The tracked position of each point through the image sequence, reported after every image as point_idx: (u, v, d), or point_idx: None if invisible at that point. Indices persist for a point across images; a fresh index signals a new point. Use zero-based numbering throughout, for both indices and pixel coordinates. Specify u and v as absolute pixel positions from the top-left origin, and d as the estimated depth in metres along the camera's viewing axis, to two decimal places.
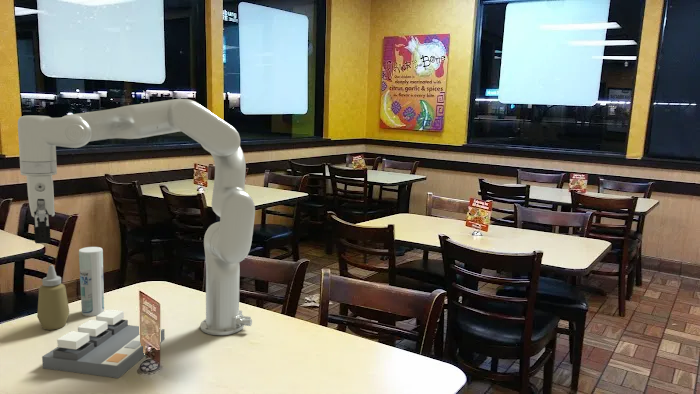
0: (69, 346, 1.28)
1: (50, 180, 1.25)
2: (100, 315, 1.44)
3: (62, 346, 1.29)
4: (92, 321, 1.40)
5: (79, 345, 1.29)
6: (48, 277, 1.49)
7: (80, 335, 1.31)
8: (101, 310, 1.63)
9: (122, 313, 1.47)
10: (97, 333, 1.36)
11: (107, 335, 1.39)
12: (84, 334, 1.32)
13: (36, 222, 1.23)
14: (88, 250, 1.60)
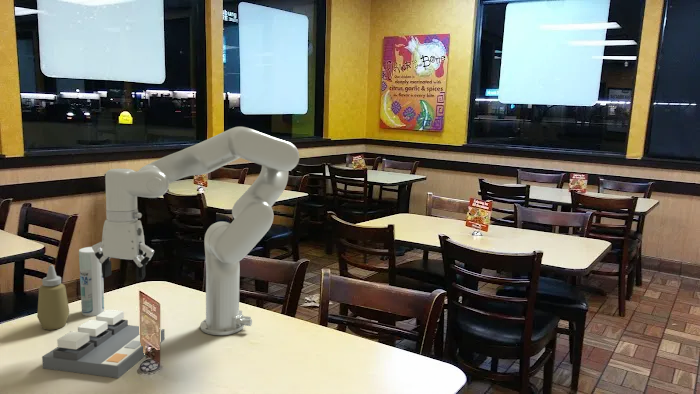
0: (69, 346, 1.28)
1: None
2: (100, 315, 1.44)
3: (62, 346, 1.29)
4: (92, 321, 1.40)
5: (79, 345, 1.29)
6: (48, 277, 1.49)
7: (80, 335, 1.31)
8: (101, 310, 1.63)
9: (122, 313, 1.47)
10: (97, 333, 1.36)
11: (107, 335, 1.39)
12: (84, 334, 1.32)
13: (141, 262, 1.40)
14: (88, 250, 1.60)
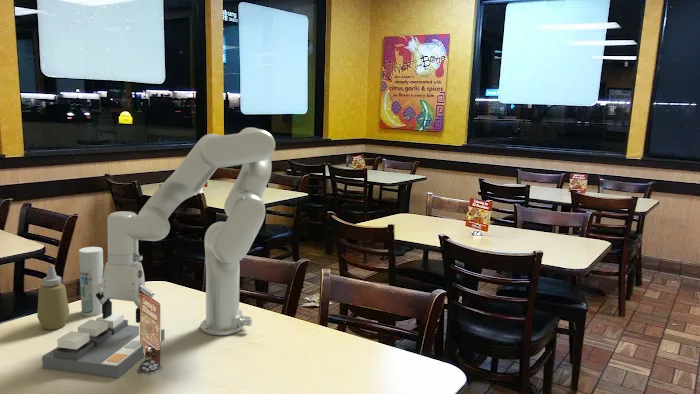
0: (69, 346, 1.28)
1: None
2: (100, 318, 1.44)
3: (62, 346, 1.29)
4: (92, 321, 1.40)
5: (79, 345, 1.29)
6: (48, 277, 1.49)
7: (80, 335, 1.31)
8: (101, 310, 1.63)
9: (122, 316, 1.47)
10: (97, 333, 1.36)
11: (107, 335, 1.39)
12: (84, 334, 1.32)
13: None
14: (88, 250, 1.60)
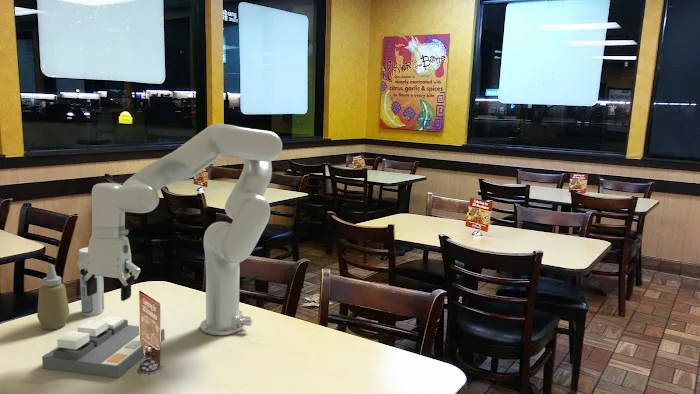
0: (69, 346, 1.28)
1: None
2: None
3: (62, 346, 1.29)
4: (92, 321, 1.40)
5: (79, 345, 1.29)
6: (48, 277, 1.49)
7: (80, 335, 1.31)
8: (101, 310, 1.63)
9: (122, 320, 1.47)
10: (97, 333, 1.36)
11: (107, 335, 1.39)
12: (84, 334, 1.32)
13: (126, 281, 1.35)
14: None
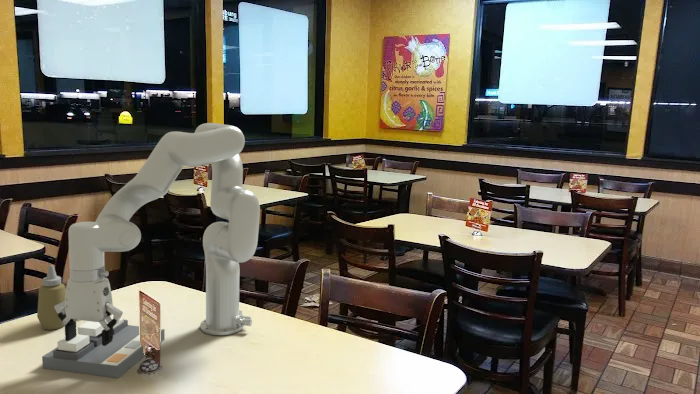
0: (69, 348, 1.29)
1: None
2: None
3: (62, 348, 1.29)
4: None
5: (79, 348, 1.30)
6: (48, 277, 1.49)
7: (80, 337, 1.31)
8: None
9: (122, 320, 1.47)
10: (97, 333, 1.36)
11: None
12: (84, 336, 1.32)
13: (107, 325, 1.27)
14: None
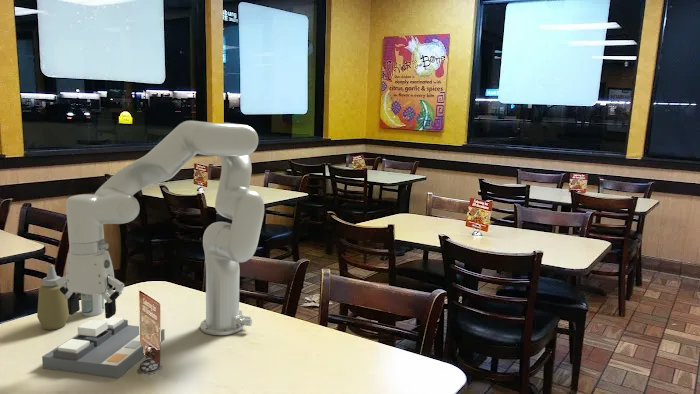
0: None
1: None
2: None
3: None
4: (92, 321, 1.40)
5: None
6: (48, 277, 1.49)
7: (80, 343, 1.32)
8: (101, 310, 1.63)
9: (122, 320, 1.47)
10: (97, 333, 1.36)
11: (107, 335, 1.39)
12: (84, 342, 1.32)
13: (110, 298, 1.27)
14: None
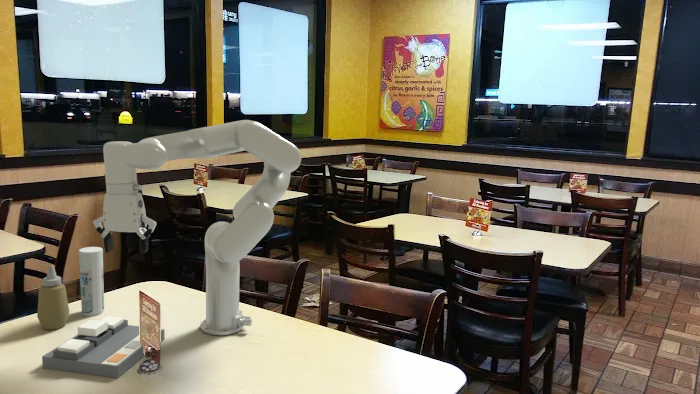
0: None
1: None
2: None
3: None
4: (92, 321, 1.40)
5: None
6: (48, 277, 1.49)
7: (80, 343, 1.32)
8: (101, 310, 1.63)
9: (122, 320, 1.47)
10: (97, 333, 1.36)
11: (107, 335, 1.39)
12: (84, 342, 1.32)
13: (144, 234, 1.40)
14: (88, 250, 1.60)
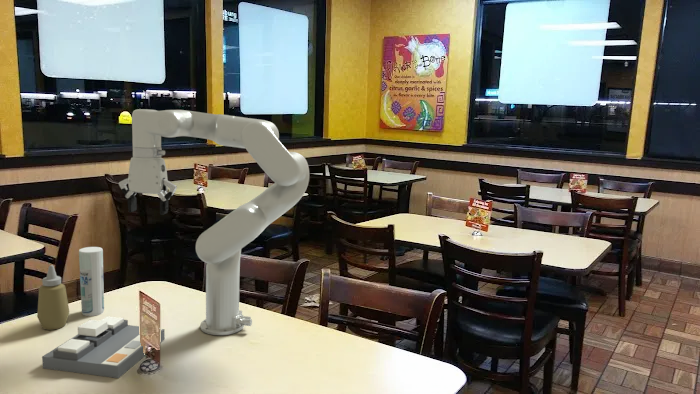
0: None
1: None
2: None
3: None
4: (92, 321, 1.40)
5: None
6: (48, 277, 1.49)
7: (80, 343, 1.32)
8: (101, 310, 1.63)
9: (122, 320, 1.47)
10: (97, 333, 1.36)
11: (107, 335, 1.39)
12: (84, 342, 1.32)
13: (164, 197, 1.51)
14: (88, 250, 1.60)
